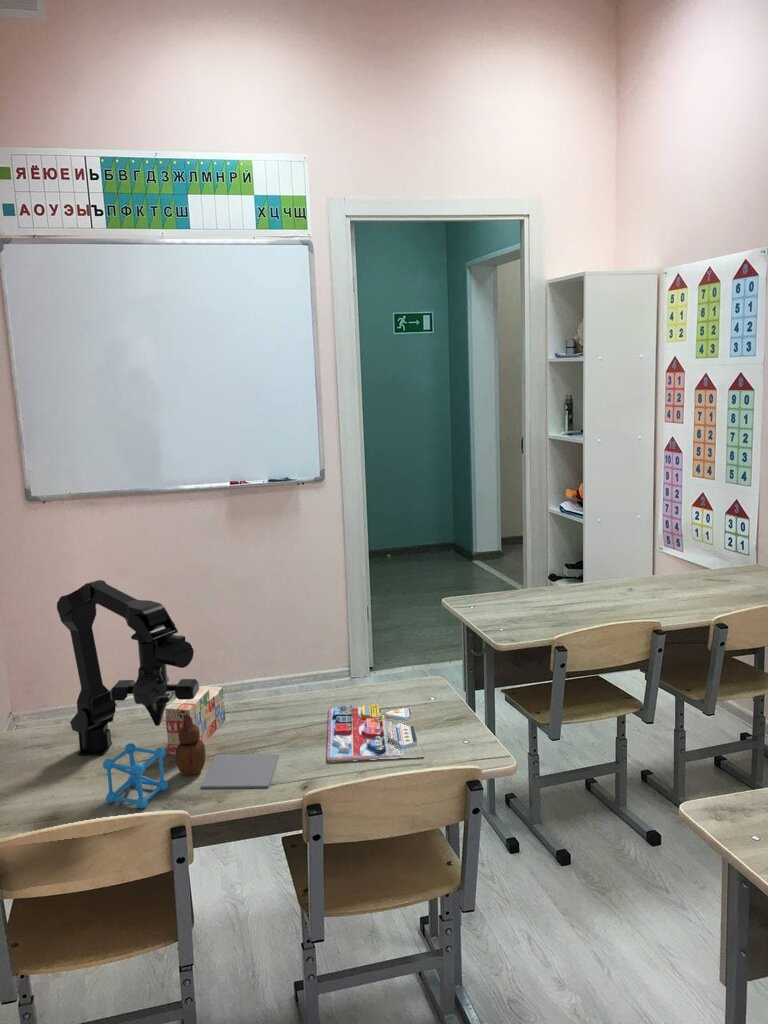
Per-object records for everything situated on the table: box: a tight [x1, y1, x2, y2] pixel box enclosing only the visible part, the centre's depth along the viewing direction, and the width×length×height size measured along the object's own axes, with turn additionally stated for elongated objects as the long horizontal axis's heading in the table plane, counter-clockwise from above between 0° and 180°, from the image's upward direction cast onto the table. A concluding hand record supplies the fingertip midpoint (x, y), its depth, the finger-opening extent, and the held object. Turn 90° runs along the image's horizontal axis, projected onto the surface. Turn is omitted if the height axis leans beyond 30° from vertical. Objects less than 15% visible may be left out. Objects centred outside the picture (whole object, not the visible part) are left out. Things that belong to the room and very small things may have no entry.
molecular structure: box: [102, 742, 169, 809], centre depth 181 cm, size 10×10×10 cm
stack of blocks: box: [164, 685, 226, 757], centre depth 209 cm, size 21×6×12 cm, turn 169°
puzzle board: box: [326, 703, 418, 763], centre depth 210 cm, size 30×23×3 cm
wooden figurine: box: [174, 713, 206, 777], centre depth 190 cm, size 7×6×15 cm
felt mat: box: [200, 753, 280, 789], centre depth 191 cm, size 15×15×1 cm
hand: (157, 725), depth 190 cm, fingers closed
